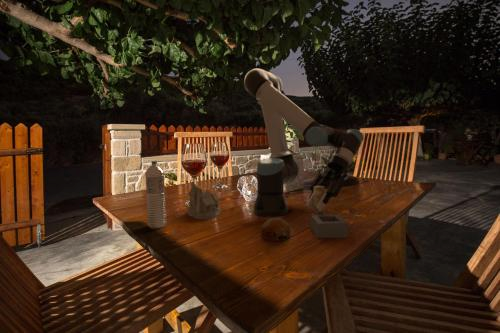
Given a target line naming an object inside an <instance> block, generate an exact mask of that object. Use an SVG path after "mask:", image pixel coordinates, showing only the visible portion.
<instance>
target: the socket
mask: <svg viewBox="0 0 500 333" xmlns="http://www.w3.org/2000/svg"><path fill="white" fill-rule="evenodd" d="M310 230H312V231H313V234H314V235H315V236H316V238H317V239H333V238H334V239H335V238H337V239H340V238H341V239H342V238H345V239H346V238H348V236H349V232H348V231H349V223H348V222H347V221H346V220H345V219H344V218H343V217H342V216H340V215H339V214H334V213H333V214H325V215H314V214H311V215H310Z"/></svg>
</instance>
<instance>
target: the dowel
mask: <svg viewBox="0 0 500 333" xmlns="http://www.w3.org/2000/svg"><path fill="white" fill-rule="evenodd" d="M324 193H325V194H326V191H325V186H314V204H313V215H326V214H325V207H326V204H325V205H324V207H323V209H322V210H321V212H319V211H318V209H317V208H316V206H317V205H318V203H319V201H320V199H321V198H322V196H323V194H324Z"/></svg>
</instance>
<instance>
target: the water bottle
mask: <svg viewBox="0 0 500 333" xmlns="http://www.w3.org/2000/svg"><path fill="white" fill-rule="evenodd" d="M157 164H158V163H157V160H154V161H153V160H152V161H151V166H149V167H148V168H147V170H145V172H144V174H145V175H144V177H145V191H146V195H145V196H146V197H145V198H146V210H147V212H146V214H147V226H148V228H149V229H153V230H154V229H163V228H164V227H165V226H167V207H166V206H167V203H166V190H165V188H166V187H165V171H164V170H163V168H162V167H161V166H158V165H157Z"/></svg>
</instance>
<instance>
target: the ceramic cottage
mask: <svg viewBox="0 0 500 333" xmlns="http://www.w3.org/2000/svg"><path fill="white" fill-rule="evenodd" d="M188 195H189V202H188V206H189V207H188V212H187V215H188V216H189V217H192V218H193V219H196V220H202V221H203V220H204V221H205V220H211V219H214V218H216V217H218V216H219V214H220V213H221V211H222V210H221V208H220V206H219V199H220V198H219V197H218V195H217V193H215V192H214V193H212V192H210V189H206V191H203V188H202V187H200V186H197V185H196V183H195V181H194V180H192V181H191V188H190V191H189V192H188Z"/></svg>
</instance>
